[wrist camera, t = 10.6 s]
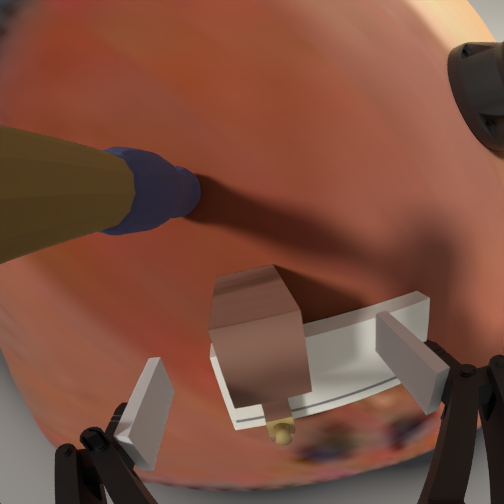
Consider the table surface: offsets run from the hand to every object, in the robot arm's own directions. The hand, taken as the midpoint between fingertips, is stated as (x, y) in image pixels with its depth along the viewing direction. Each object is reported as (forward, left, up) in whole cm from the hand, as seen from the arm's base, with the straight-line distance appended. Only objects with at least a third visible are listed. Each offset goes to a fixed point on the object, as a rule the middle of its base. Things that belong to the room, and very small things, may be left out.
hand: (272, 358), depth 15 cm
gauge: (+6, 0, -10) cm, 11 cm away
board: (+9, +6, -10) cm, 14 cm away
